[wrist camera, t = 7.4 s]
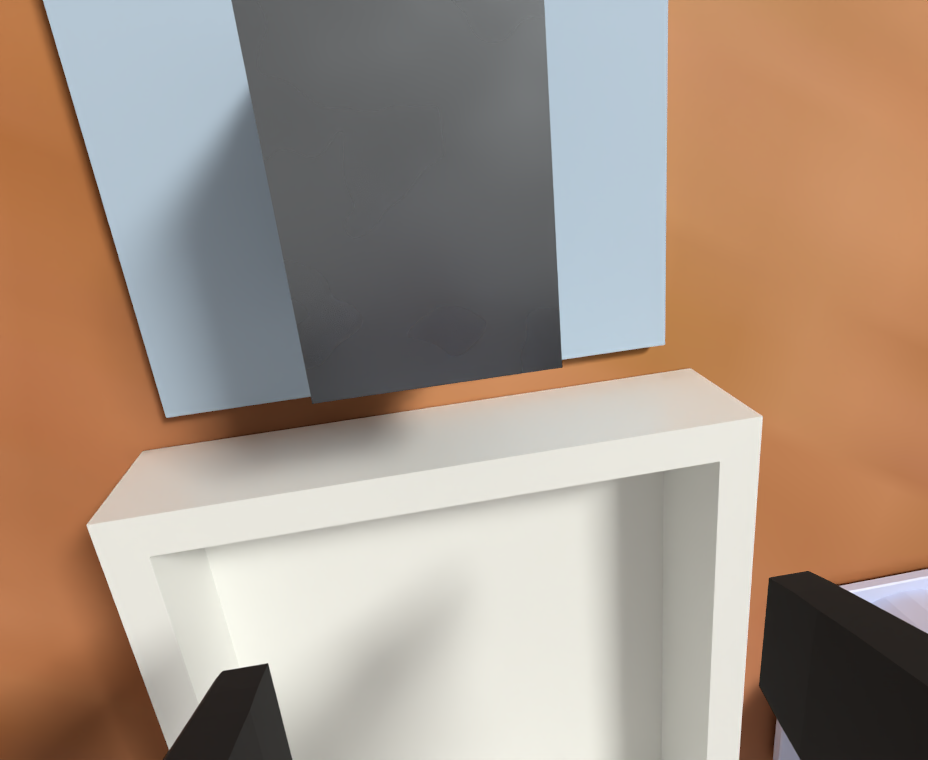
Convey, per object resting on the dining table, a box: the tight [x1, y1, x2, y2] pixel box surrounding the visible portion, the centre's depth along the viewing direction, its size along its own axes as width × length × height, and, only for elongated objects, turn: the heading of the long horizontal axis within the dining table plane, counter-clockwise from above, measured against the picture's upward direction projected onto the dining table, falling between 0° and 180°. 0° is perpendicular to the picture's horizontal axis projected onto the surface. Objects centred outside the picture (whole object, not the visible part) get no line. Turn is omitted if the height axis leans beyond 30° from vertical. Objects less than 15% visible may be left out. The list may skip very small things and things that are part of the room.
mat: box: [43, 0, 668, 418], centre depth 15 cm, size 13×11×1 cm
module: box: [231, 0, 562, 404], centre depth 12 cm, size 4×6×6 cm
